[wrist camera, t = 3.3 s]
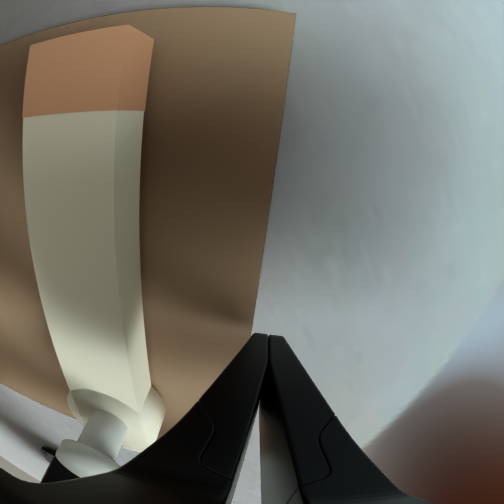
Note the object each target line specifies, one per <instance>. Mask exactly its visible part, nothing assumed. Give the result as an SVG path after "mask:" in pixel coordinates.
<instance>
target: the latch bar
mask: <svg viewBox="0 0 504 504" xmlns="http://www.w3.org/2000/svg"><path fill="white" fill-rule="evenodd" d="M153 44H154V39H153V38H152V37H150V36H148V35H146V34H145V33H143V32H141V31H140V30H138V29H136V28H134V27H132V26H131V25H121V26H114V27H108V28H102V29H96V30H90V31H85V32H80V33H76V34H71V35H67V36H62V37H58V38H54V39H51V40H47V41H43V42H40V43H36V44H33V45H30V50H29V57H28V63H27V70H26V78H25V88H24V99H23V113H22V118H23V182H24V197H25V208H26V218H27V226H28V234H29V241H30V247H31V254H32V259H33V265H34V270H35V275H36V280H37V285H38V289H39V294H40V298H41V302H42V306H43V310H44V314H45V318H46V321H47V325H48V328H49V332H50V335H51V338H52V342H53V345H54V348H55V351H56V354H57V357H58V360H59V363H60V366H61V369H62V371H63V374H64V377H65V379H66V382H67V385H68V387H69V390H70V392H69V394H68V396H67V403H68V406H69V409H70V410H71V412H72V414H73V415H74V416H75V418H76V419H77V420H78V421H79V422H80V423H81V424H82V425H83V426H84V429H83V431H82V433H81V435H80V437H79V439H78V441H74V440H69V439H65V440H63V441H62V442H61V444H60V446H59V448H58V450H57V451H56V454H55V455H56V457H57V459H58V460H59V461H60V463H61V464H62V465H64V466H65V467H66V468H67V469H68V470H70V471H71V472H72V473H74V474H76V475H77V476H79V477H80V478H82V477H87V476H92V475H97V474H101V473H106V472H109V471H112V470H115V469H117V468H119V467H120V466H119V465H118V464H117V463H116V462H115V460H116V458H117V456H118V453H119V451H120V448H121V447H124V448H127V449H130V450H133V451H137V452H140V453H141V452H142V451H143V450H145V449H146V448H147V447H148V446H150V445H151V444H152V443H154V442H155V441H156V440H157V437H158V434H159V431H160V428H161V425H162V422H163V419H164V416H165V412H166V408H165V404H164V402H163V400H162V398H161V396H160V395H159V394H158V392H157V391H156V390H155V389H154V388H153V387H152V386H151V381H150V373H149V365H148V357H147V348H146V339H145V329H144V317H143V304H142V289H141V270H140V236H139V198H140V165H141V145H142V131H143V118H144V111H145V107H146V97H147V88H148V79H149V72H150V64H151V57H152V50H153Z"/></svg>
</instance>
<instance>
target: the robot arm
mask: <svg viewBox="0 0 504 504" xmlns="http://www.w3.org/2000/svg"><path fill="white" fill-rule="evenodd" d="M258 405H259V430H260V466H261V503H262V504H436V503H433V502H429V501H425V500H422V499H419V498H415V497H413V496H410V495H408V494H406V493H404V492H403V491H401V490H400V489H398V488H397V487H396V486H395V485H394V484H393V483H392V482H391V481H390V480H389V479H388V478H387V477H386V476H385V475H384V474H383V473H382V472H381V471H380V469H379V468H378V467H377V466H376V465H375V464H374V463H373V462H372V461H371V460H370V459H369V458H368V456H367V455H366V454H365V453H364V452H363V451H362V450H361V448H360V447H359V446H358V445H357V444H356V442H355V441H354V440H353V439H352V438H351V436H350V435H349V433H348V432H347V431H346V429H345V428H344V427H343V425H342V424H341V422H340V421H339V419H338V418H337V416H335V414H334V412H333V411H332V409H331V408H330V406H329V405H328V403H327V402H326V400H325V399H324V397H323V396H322V394H321V393H320V391H319V390H318V388H317V387H316V385H315V384H314V382H313V381H312V379H311V378H310V376H309V375H308V373H307V372H306V370H305V369H304V367H303V366H302V364H301V363H300V361H299V360H298V358H297V357H296V355H295V353H294V352H293V350H292V349H291V347H290V346H289V344H288V343H287V341H286V340H285V338H284V337H283V336H277V335H269V337H268V335H267V334H262V333H254V334H253V335H252V336H251V337H250V339H249V340H248V341H247V342H246V344H245V345H244V346H243V347H242V348H241V350H240V351H239V352H238V353H237V355H236V356H235V357H234V358H233V359H232V361H231V362H230V363H229V364H228V365H227V367H226V368H225V369H224V370H223V371H222V373H221V374H220V375H219V376H218V377H217V379H216V380H215V381H214V382H213V383H212V385H211V386H210V387H209V388H208V389H207V390H206V392H205V393H204V394H203V395H202V396H201V397H200V399H199V400H198V401H197V402H196V403H195V404H194V405H193V406H192V408H191V409H190V410H189V411H188V412H187V413H186V414H185V415H184V416H183V417H182V418H181V419H180V420H179V421H178V422H177V423H176V424H175V425H174V426H173V427H172V428H170V429H169V430H168V431H167V432H166V433H165V434H163V435H162V436H161V437H160V438H159V439H157V440H156V441H155V442H154V443H152V444H151V445H150V446H148V447H147V448H146V449H145V450H143V451H142V452H141V453H140V454H138V455H137V456H136V457H134V458H133V459H132V460H130V461H129V462H127V463H126V464H124V465H123V466H121V467H119V468H117V469H115V470H112V471H109V472H106V473H101V474H97V475H92V476H87V477H82V478H80V477H79V476H77V475H76V474H74V473H72V472H71V471H70V470H68V469H67V468H66V467H65V466H64V465H62V464H61V463H60V461H59V460H58V459H57V457H56V455H55V454H56V453H55V452H53V451H51V450H49V449H47V448H45V447H42V449H41V452H42V453H43V454H44V456H45V457H46V458H47V460H48V461H49V462H50V464H49V466H48V468H47V470H46V472H45V474H44V476H43V478H42V480H41V482H40V483H31V482H27V481H23V480H20V479H18V478H16V477H14V476H12V475H11V474H9V473H8V472H6V471H5V470H3V469H2V468H0V504H231V502H232V498H233V495H234V492H235V488H236V485H237V482H238V478H239V475H240V471H241V468H242V464H243V461H244V457H245V454H246V450H247V447H248V443H249V440H250V436H251V432H252V429H253V425H254V421H255V418H256V414H257V410H258Z"/></svg>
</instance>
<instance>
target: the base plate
mask: <svg viewBox="0 0 504 504" xmlns="http://www.w3.org/2000/svg"><path fill="white" fill-rule="evenodd" d="M295 18H296V13H290V12H283V11H274V10H264V9H252V8H235V7H181V8H164V9H152V10H143V11H134V12H127V13H120V14H114V15H108V16H102V17H97V18H92V19H87V20H82V21H78V22H74V23H70V24H66V25H62V26H58V27H54V28H51V29H47V30H44V31H41V32H38V33H34V34H31V35H28V36H25V37H23V38H20V39H17V40H14V41H12V42H9V43H6V44H4V45H1V46H0V383H1V384H3V385H5V386H7V387H9V388H10V389H12V390H14V391H16V392H18V393H20V394H22V395H24V396H26V397H28V398H30V399H32V400H34V401H36V402H38V403H40V404H42V405H44V406H47V407H49V408H51V409H53V410H56V411H58V412H60V413H63V414H65V415H67V416H70V417H72V418H75V416H74V415H73V414H72V412H71V410H70V409H69V406H68V403H67V396H68V394H69V392H70V390H69V387H68V385H67V382H66V379H65V377H64V374H63V371H62V369H61V366H60V363H59V360H58V357H57V354H56V351H55V348H54V345H53V342H52V338H51V335H50V332H49V328H48V325H47V321H46V318H45V314H44V310H43V306H42V302H41V298H40V294H39V289H38V285H37V280H36V275H35V270H34V265H33V259H32V254H31V247H30V241H29V234H28V226H27V218H26V208H25V197H24V182H23V118H22V113H23V99H24V88H25V78H26V70H27V63H28V57H29V50H30V45H33V44H36V43H40V42H43V41H47V40H51V39H54V38H58V37H62V36H67V35H71V34H76V33H80V32H85V31H90V30H96V29H102V28H108V27H114V26H121V25H131V26H132V27H134V28H136V29H138V30H140V31H141V32H143V33H145V34H146V35H148V36H150V37H152V38H153V39H154V44H153V50H152V57H151V64H150V72H149V79H148V88H147V97H146V107H145V111H144V118H143V131H142V145H141V165H140V198H139V236H140V270H141V289H142V304H143V317H144V329H145V339H146V348H147V357H148V365H149V373H150V381H151V386H152V387H153V388H154V389H155V390H156V391H157V392H158V394H159V395H160V396H161V398H162V400H163V402H164V404H165V408H166V412H165V416H164V419H163V422H162V425H161V428H160V431H159V434H158V437H157V439H159V438H160V437H161V436H162V435H163V434H165V433H166V432H167V431H168V430H169V429H170V428H172V427H173V426H174V425H175V424H176V423H177V422H178V421H179V420H180V419H181V418H182V417H183V416H184V415H185V414H186V413H187V412H188V411H189V410H190V409H191V408H192V406H193V405H194V404H195V403H196V402H197V401H198V400H199V399H200V397H201V396H202V395H203V394H204V393H205V392H206V390H207V389H208V388H209V387H210V386H211V385H212V383H213V382H214V381H215V380H216V379H217V377H218V376H219V375H220V374H221V373H222V371H223V370H224V369H225V368H226V367H227V365H228V364H229V363H230V362H231V361H232V359H233V358H234V357H235V356H236V355H237V353H238V352H239V351H240V350H241V348H242V347H243V346H244V345H245V344H246V342H247V341H248V340H249V339H250V337H251V331H252V324H253V318H254V311H255V305H256V298H257V292H258V285H259V278H260V272H261V265H262V258H263V252H264V245H265V238H266V231H267V224H268V217H269V211H270V204H271V197H272V190H273V183H274V175H275V168H276V161H277V154H278V147H279V140H280V132H281V125H282V118H283V110H284V103H285V95H286V88H287V80H288V73H289V65H290V57H291V50H292V42H293V34H294V26H295ZM75 419H76V418H75Z"/></svg>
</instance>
